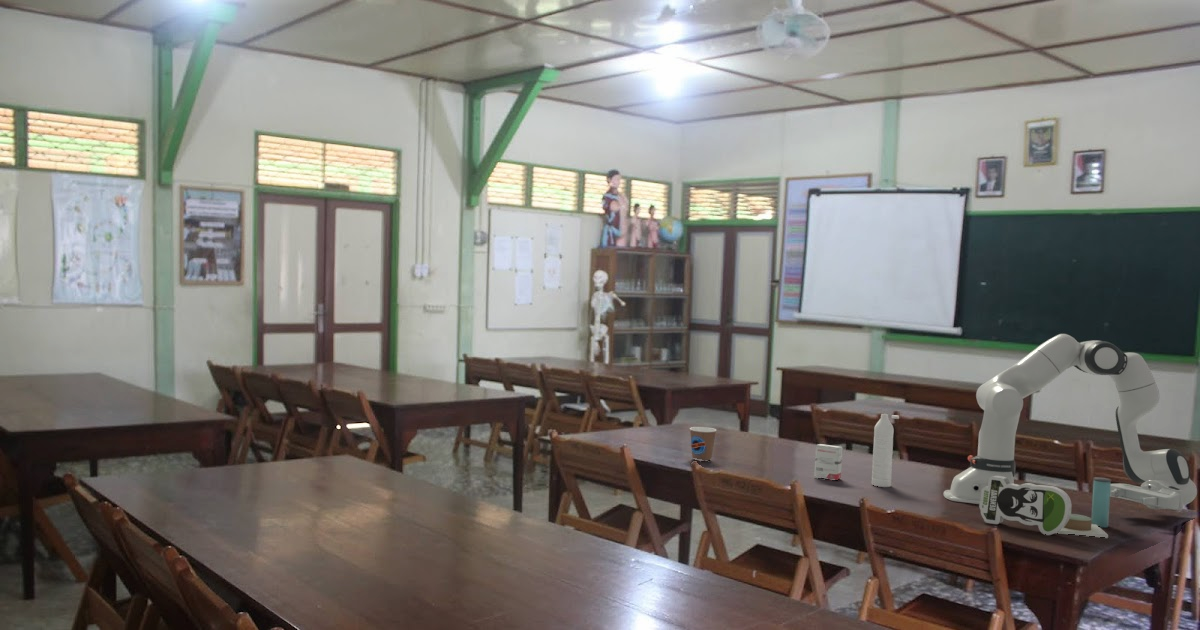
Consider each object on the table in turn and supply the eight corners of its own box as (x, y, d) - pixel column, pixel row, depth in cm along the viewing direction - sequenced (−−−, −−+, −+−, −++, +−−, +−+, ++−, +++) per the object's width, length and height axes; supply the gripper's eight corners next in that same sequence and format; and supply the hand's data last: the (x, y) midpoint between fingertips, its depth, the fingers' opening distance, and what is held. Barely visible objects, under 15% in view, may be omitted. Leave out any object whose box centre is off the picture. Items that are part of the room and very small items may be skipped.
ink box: (841, 479, 336) (843, 446, 335) (837, 481, 331) (838, 447, 331) (818, 475, 340) (819, 443, 340) (813, 478, 336) (814, 444, 336)
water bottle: (867, 484, 328) (871, 413, 327) (878, 482, 332) (882, 412, 331) (889, 489, 321) (893, 416, 320) (900, 487, 325) (904, 415, 324)
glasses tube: (1093, 526, 280) (1095, 479, 280) (1089, 522, 284) (1091, 476, 284) (1110, 528, 279) (1113, 481, 278) (1105, 524, 283) (1108, 478, 283)
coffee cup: (683, 459, 362) (684, 428, 361) (698, 456, 369) (699, 426, 369) (705, 463, 355) (706, 432, 355) (720, 460, 363) (721, 429, 362)
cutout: (978, 475, 281) (1067, 483, 264) (982, 474, 283) (1071, 482, 266) (979, 526, 281) (1069, 537, 264) (983, 524, 283) (1072, 536, 266)
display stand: (1054, 533, 270) (1055, 519, 270) (1044, 523, 282) (1045, 509, 281) (1107, 538, 267) (1108, 524, 266) (1096, 527, 278) (1096, 514, 278)
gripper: (1124, 477, 302) (1096, 480, 296) (1188, 491, 284) (1159, 494, 278) (1123, 497, 303) (1095, 500, 296) (1187, 512, 284) (1158, 515, 278)
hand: (1127, 497), depth 287 cm, fingers open, 8 cm apart
